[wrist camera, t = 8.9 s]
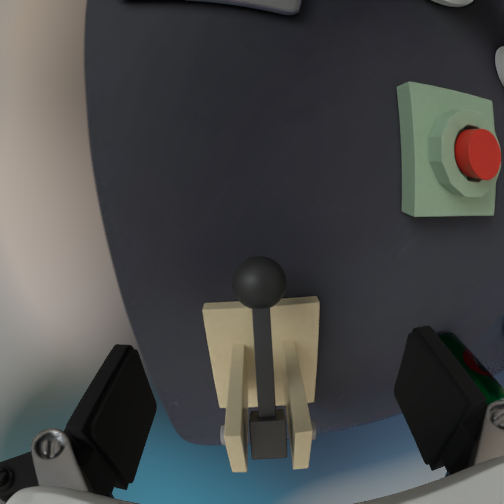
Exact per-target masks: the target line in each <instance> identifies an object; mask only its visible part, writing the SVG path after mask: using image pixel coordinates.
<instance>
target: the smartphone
mask: <svg viewBox="0 0 504 504" xmlns="http://www.w3.org/2000/svg"><path fill="white" fill-rule="evenodd" d="M120 1H123V0H120ZM187 1H201V2H212V3H221V4H229V5H236V6H242V7H248V8H254V9H260V10H265V11H270V12H274V13H279V14H283V15H294V14H297V13H298V12H299V10H300V6H301V2H302V0H187Z"/></svg>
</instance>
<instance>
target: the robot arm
mask: <svg viewBox="0 0 504 504" xmlns="http://www.w3.org/2000/svg"><path fill="white" fill-rule="evenodd" d="M432 1H434V2H437V3H439V4H442V5H446V6H450V7H462V6H466V5H467V4H469V3H471V2H472V1H473V0H432ZM394 395H395V398H396V400H397V402H398V404H399V406H400V408H401V411H402V413H403V415H404V417H405V419H406V421H407V424H408V426H409V428H410V430H411V433H412V435H413V437H414V439H415V441H416V444H417V446H418V449H419V451H420V453H421V456H422V458H423V460H424V462H425V464H427V465H428V464H429V465H430V467H431V470H432V471H433V470H435V469H438V468H441V467H443V466H445V468H446V470H447V473H446V475H445V477H444V478H441V479H439V480H436V481H433V482H431V483H428V484H425V485H422V486H419V487H416V488H413V489H409V490H407V491H403V492H400V493H396V494H392V495H389V496H385V497H381V498H377V499H373V500H369V501H364V502H360V503H355V504H504V400H497V401H494V402H492V403H490V404H489V406H488V404H487V403H486V400H487V399H486V397H485V396H484V394H483V393H482V392H481V390H480V389H479V388H478V386H477V385H476V383H475V382H474V381H473V379H472V378H471V377H470V375H469V374H468V373H467V372H466V370H465V369H464V368H463V366H462V365H461V364H460V362H459V361H458V360H457V359H456V357H455V356H454V355H453V354H452V352H451V351H450V350H449V349H448V347H447V346H446V345H445V344H444V342H443V341H442V340H441V339H440V338H439V336H438V335H437V334H436V333H435V332H434V330H433V329H432V328H431V327H430V326H423V327H417V328H414V329H413V330H412V333H409V335H408V338H407V342H406V346H405V351H404V355H403V358H402V362H401V366H400V370H399V373H398V377H397V380H396V384H395V387H394ZM156 408H157V407H156V401H155V398H154V396H153V393H152V390H151V388H150V385H149V382H148V379H147V377H146V374H145V371H144V368H143V365H142V362H141V359H140V356H139V353H138V351H137V350H135V349H134V348H133V347H132V346H131V345H119V344H117V345H115V346H114V347H113V349H112V350H111V352H110V353H109V355H108V356H107V358H106V360H105V361H104V363H103V364H102V366H101V368H100V369H99V371H98V372H97V374H96V376H95V377H94V379H93V380H92V382H91V384H90V385H89V387H88V389H87V391H86V392H85V394H84V396H83V397H82V399H81V400H80V402H79V404H78V406H77V407H76V409H75V411H74V413H73V414H72V416H71V418H70V419H69V421H68V423H67V425H66V428H65V430H64V432H63V431H62V430H59V429H53V428H51V429H46V430H43V431H41V432H40V433H39V434H37V435H36V436H35V438H34V439H33V441H32V444H31V452H28V453H25V454H23V455H20V456H17V457H14V458H11V459H8V460H5V461H2V462H0V504H138V503H133V502H128V501H123V500H119V499H115V498H114V497H113V495H112V491H113V488H114V487H116V488H120V489H124V490H127V487H128V484H129V483H132V482H133V481H134V478H135V475H136V472H137V468H138V465H139V462H140V459H141V456H142V453H143V450H144V446H145V443H146V440H147V437H148V434H149V431H150V428H151V425H152V422H153V419H154V416H155V413H156Z"/></svg>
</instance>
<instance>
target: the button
mask: <svg viewBox="0 0 504 504" xmlns="http://www.w3.org/2000/svg"><path fill="white" fill-rule="evenodd" d="M455 158H456V162H457V165H458V167H459V168H460V170H461V171H462V172H463V173H464V174H465V175H466V176H468V177H470V178H476V179H481V180H490V179H492V178H494V177H495V176H496V174H497V173H498V171H499V168H500V164H501V152H500V147H499V144H498V142H497V140H496V138H495V137H494V135H493V134H492V133H491V132H489V131H488V130H486V129H466V130H464V131H462V132H461V133H460V134H459V135H458V137H457V139H456V142H455Z"/></svg>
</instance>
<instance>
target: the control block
mask: <svg viewBox="0 0 504 504" xmlns="http://www.w3.org/2000/svg"><path fill="white" fill-rule="evenodd" d="M396 88H397V97H398V107H399V119H400V134H401V156H402V212H404V213H406V214H409V215H411V216H413V217H438V216H494V208H495V190H496V180H497V178H498V175H499V172H500V170H501V164H500V168H499V171H498V173H497V174H496V176H495V177H494V178H492V179H490V180H481V179H476V178H470V177H468V176H466V175H465V174H464V173H463V172H462V171H461V170H460V168H459V167H458V165H457V162H456V158H455V142H456V139H457V137H458V135H459V134H460V133H461V132H462V131H464V130H466V129H486V130H488V131H489V132H491V133H492V134H493V135H494V137H495V138H496V140H497V142H498V139H497V136H496V134H495V128H494V116H493V106H492V101H490V100H487V99H484V98H480V97H477V96H473V95H469V94H466V93H462V92H458V91H454V90H449V89H445V88H441V87H436V86H431V85H426V84H420V83H415V82H407V83H404V84H402V85H400V86H397V87H396ZM498 144H499V142H498ZM499 147H500V145H499ZM500 152H501V149H500Z"/></svg>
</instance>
